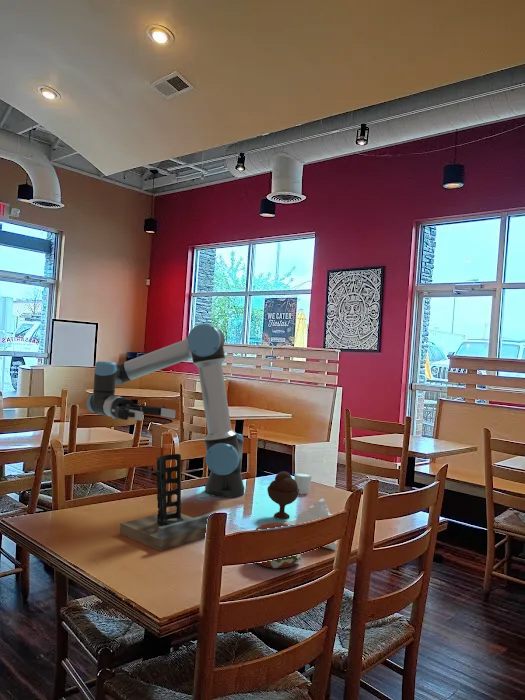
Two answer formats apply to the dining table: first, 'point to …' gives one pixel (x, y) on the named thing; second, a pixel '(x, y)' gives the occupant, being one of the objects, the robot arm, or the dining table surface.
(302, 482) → the white cup
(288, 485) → the ice cream bowl
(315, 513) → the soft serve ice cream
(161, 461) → the holder
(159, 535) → the board
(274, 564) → the burger
